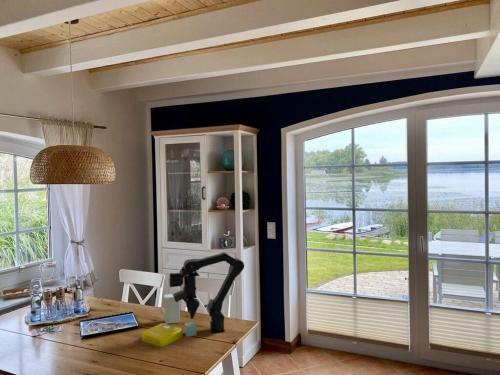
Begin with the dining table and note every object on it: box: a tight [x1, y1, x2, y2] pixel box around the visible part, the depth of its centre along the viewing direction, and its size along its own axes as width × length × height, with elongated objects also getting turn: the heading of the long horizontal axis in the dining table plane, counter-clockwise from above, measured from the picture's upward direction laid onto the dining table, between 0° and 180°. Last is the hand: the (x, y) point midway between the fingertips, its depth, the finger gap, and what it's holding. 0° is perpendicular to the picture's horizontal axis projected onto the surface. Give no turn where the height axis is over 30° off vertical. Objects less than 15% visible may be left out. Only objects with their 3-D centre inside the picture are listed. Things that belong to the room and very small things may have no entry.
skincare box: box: [163, 293, 181, 325], centre depth 209 cm, size 8×6×15 cm
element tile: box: [141, 322, 183, 347], centre depth 187 cm, size 15×15×5 cm
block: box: [184, 321, 197, 338], centre depth 192 cm, size 5×5×5 cm
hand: (190, 315), depth 192 cm, fingers open, 9 cm apart
